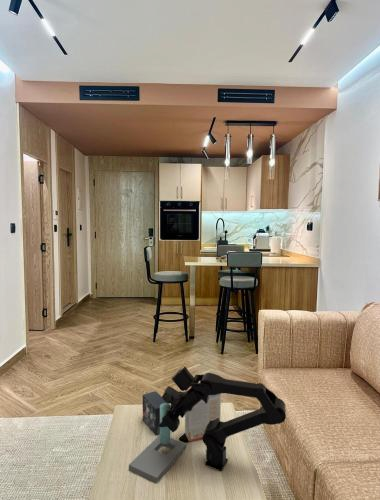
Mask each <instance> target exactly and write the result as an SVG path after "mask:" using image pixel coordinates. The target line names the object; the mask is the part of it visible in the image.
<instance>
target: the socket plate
mask: <svg viewBox="0 0 380 500" xmlns="http://www.w3.org/2000/svg"><path fill="white" fill-rule="evenodd" d="M162 446H164V447H166V448H168V449H171V450H170V451H169V452H168V453H167V454H165V453H164V452H162V451H159V450H160V448H162ZM186 449H187V443H185V442H183V441H180V440H178V439H174V438H172V437H170V443H168V444H161V443H160V434H158V435H157V437H156V438H155V439H154V440H153V441H151V443H150V444H148V446H147V447H145V449H143V450H142V451H141V453H139V455H137V456H136V457H135V458H134V459H133V460H132V461H131V462H130V463H129V464H128V471H130V472H132V473H135V474H136V475H139V476H140V477H142V478H144V479H147V480H149V481H151V482H153V483H155V484H158V483H159V482H160V480H161V479H162V478H163V476H165V474H166V473H167V472H168V471H169V469H170V468H171V467H172V466H173V465H174V464H175V462H176V461H177V460H178V459H179V458H180V456H181V455H182V454H183V453H184V452H185V451H186Z"/></svg>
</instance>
